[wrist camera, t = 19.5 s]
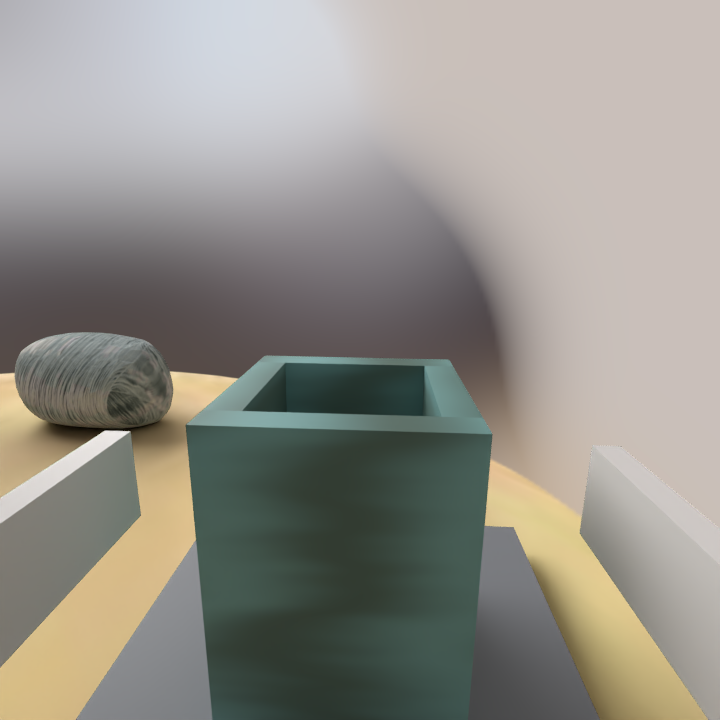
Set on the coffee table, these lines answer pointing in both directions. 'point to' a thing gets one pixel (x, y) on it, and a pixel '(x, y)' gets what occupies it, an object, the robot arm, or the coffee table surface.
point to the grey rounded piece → (94, 380)
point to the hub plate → (490, 659)
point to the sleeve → (340, 539)
